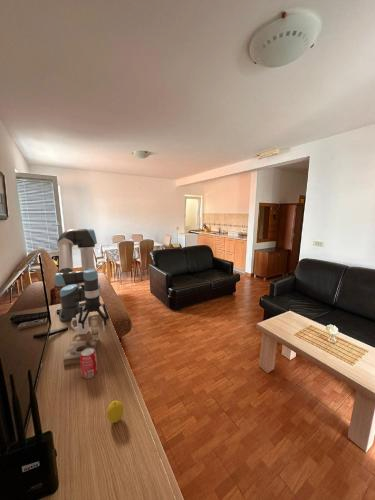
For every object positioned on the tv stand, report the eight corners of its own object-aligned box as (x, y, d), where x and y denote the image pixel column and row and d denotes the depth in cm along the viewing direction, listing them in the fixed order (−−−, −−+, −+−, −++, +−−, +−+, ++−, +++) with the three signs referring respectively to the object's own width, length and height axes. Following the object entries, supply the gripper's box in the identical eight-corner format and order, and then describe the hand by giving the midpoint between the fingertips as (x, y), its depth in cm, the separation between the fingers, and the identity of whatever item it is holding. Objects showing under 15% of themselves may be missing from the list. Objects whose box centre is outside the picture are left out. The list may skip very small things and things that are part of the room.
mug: (88, 328, 140) (87, 311, 138) (89, 332, 134) (88, 315, 132) (71, 332, 135) (69, 314, 133) (72, 337, 129) (70, 319, 127)
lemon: (105, 420, 77) (103, 402, 76) (119, 411, 81) (118, 393, 79) (111, 431, 73) (110, 412, 72) (126, 421, 77) (125, 402, 76)
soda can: (91, 367, 104) (89, 345, 102) (100, 372, 101) (99, 349, 99) (78, 376, 98) (75, 353, 96) (87, 382, 95) (85, 358, 93)
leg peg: (92, 338, 128) (90, 317, 126) (99, 337, 129) (97, 316, 127) (91, 342, 124) (89, 320, 122) (99, 341, 125) (97, 319, 123)
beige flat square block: (69, 349, 118) (69, 343, 117) (96, 344, 122) (96, 339, 122) (63, 366, 105) (63, 359, 104) (94, 360, 109) (93, 354, 109)
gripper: (69, 301, 115) (73, 338, 119) (112, 296, 122) (114, 331, 126) (72, 296, 122) (75, 331, 126) (112, 291, 129) (114, 325, 133)
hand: (95, 331), depth 126 cm, fingers open, 9 cm apart
